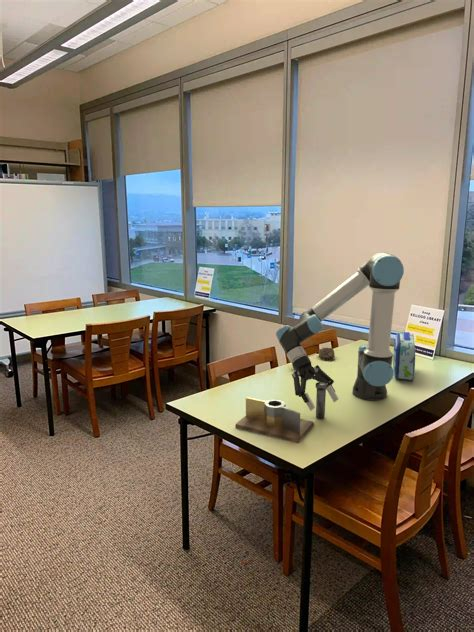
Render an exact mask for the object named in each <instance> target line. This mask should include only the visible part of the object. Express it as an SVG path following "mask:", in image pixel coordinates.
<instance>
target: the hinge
mask: <svg viewBox="0 0 474 632" xmlns="http://www.w3.org/2000/svg"><path fill="white" fill-rule="evenodd" d="M286 406H287V405H286V402H285V401H284V400H280V399H268V400H262V399H257V398H252V397H247V396H246V397H245V416H246V417H250V418H254V419H258V420H263V421H264V423H265V424H266V425H267V426H270V427H284V428H286V429H288V430H290V431H292V432H294V433H297V434H300V419H301V413H300V412H298V411H295V410H293V409H291V408H288V407H286Z"/></svg>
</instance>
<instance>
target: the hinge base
mask: <svg viewBox="0 0 474 632" xmlns="http://www.w3.org/2000/svg"><path fill="white" fill-rule="evenodd" d="M314 422H315V421H312V420H307V419H303V418H300V434H297V433H294V432H292V431H290V430H288V429H286V428H284V427H270V426H267V425H266V424H265V423H264V421H263V420H258V419H254V418H250V417H246V415H245V416H243V417H242V418H241V419H240V420H238V421H237V422H236V423H235V428H236V429H241V430H245V431H248V432H252V433H256V434H261V435H265V436H269V437H273V438H276V439H281V440H285V441H289V442H293V443H297V444H299V443H300V442H301V441H302V440H303V439H304V437H305V436H306V435H307V434H308V432H309V431H310V430H311V429H312V428H313V426H315V425H314V424H315V423H314Z"/></svg>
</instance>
